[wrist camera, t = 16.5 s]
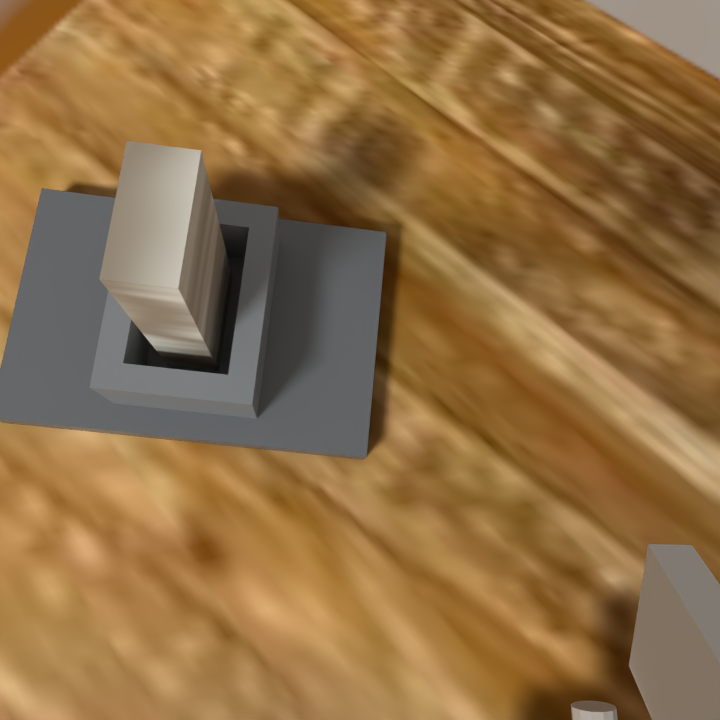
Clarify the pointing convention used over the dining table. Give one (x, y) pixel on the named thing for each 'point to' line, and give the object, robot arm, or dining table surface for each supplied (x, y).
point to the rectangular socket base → (239, 347)
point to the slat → (169, 254)
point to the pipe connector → (593, 710)
